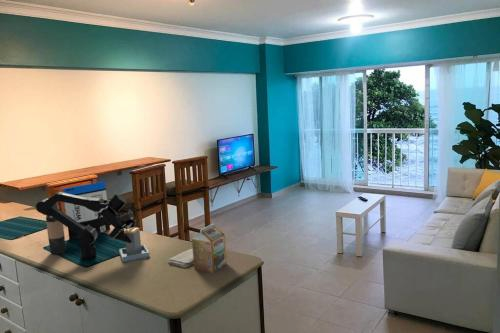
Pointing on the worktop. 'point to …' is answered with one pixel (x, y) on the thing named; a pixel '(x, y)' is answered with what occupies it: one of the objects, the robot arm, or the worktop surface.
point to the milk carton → (209, 249)
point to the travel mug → (55, 235)
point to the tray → (136, 256)
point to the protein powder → (84, 214)
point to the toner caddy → (133, 241)
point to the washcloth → (183, 259)
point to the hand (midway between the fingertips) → (135, 239)
